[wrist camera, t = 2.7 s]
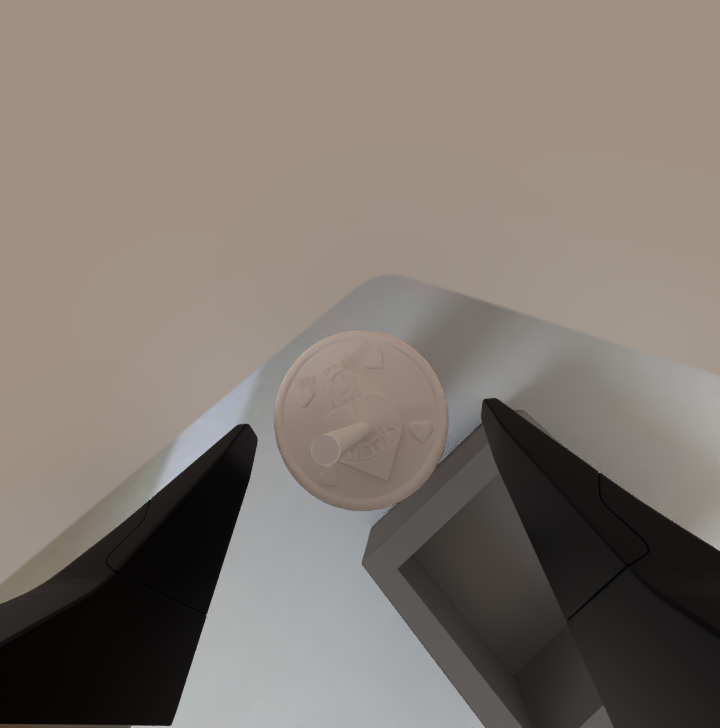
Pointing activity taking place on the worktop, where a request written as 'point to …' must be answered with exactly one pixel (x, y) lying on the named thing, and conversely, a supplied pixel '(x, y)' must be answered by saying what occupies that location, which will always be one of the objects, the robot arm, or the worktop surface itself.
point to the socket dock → (482, 596)
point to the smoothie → (361, 420)
